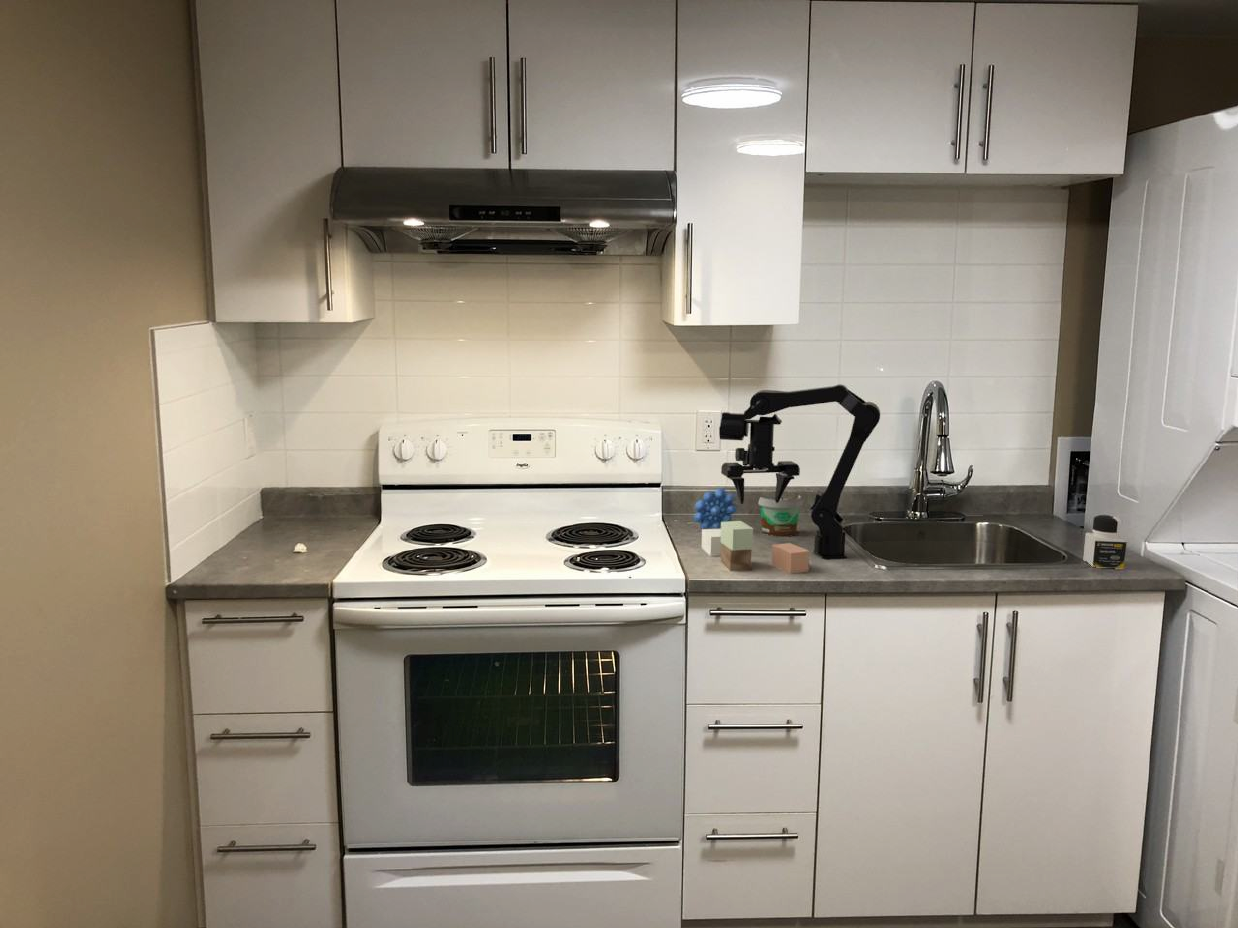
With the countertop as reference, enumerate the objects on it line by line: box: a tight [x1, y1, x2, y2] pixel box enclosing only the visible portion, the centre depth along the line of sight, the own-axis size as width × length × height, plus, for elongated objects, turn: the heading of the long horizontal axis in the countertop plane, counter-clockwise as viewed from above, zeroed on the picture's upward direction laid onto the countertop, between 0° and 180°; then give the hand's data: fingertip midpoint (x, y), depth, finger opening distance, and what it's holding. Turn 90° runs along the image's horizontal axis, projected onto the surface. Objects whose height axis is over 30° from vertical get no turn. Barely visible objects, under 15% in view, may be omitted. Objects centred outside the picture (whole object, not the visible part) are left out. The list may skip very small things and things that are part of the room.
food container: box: [758, 495, 803, 537], centre depth 263 cm, size 12×6×10 cm, turn 105°
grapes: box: [693, 487, 738, 531], centre depth 266 cm, size 12×7×12 cm, turn 90°
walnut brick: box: [720, 543, 753, 572], centre depth 233 cm, size 5×8×5 cm, turn 10°
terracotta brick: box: [771, 542, 810, 574], centre depth 231 cm, size 5×8×5 cm, turn 24°
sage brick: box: [720, 520, 754, 551], centre depth 232 cm, size 5×8×5 cm, turn 15°
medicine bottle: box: [1083, 514, 1127, 570], centre depth 236 cm, size 7×7×12 cm
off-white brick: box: [701, 528, 721, 557], centre depth 245 cm, size 5×8×5 cm, turn 11°
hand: (759, 503), depth 246 cm, fingers open, 9 cm apart
